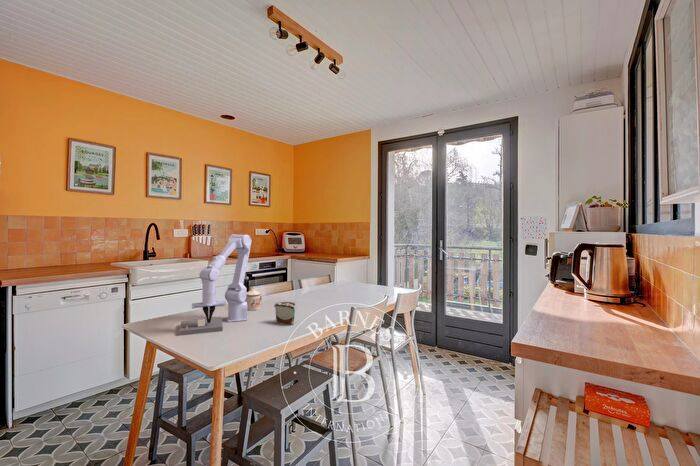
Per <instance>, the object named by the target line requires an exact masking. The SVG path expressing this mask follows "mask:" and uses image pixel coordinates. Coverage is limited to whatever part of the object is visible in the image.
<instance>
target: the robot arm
mask: <svg viewBox="0 0 700 466" xmlns="http://www.w3.org/2000/svg"><path fill="white" fill-rule="evenodd" d="M251 246H252V238H251V236H250V235H249V234H237V233H236V234H235V233H233V234H231V235H230V236H229V237H228V239H227V243H226V245H225V246H224V248H223V249H222V251H221V252H220V253H219V254H218V255H215V256H213V259H212V260H211V261H210V263H209V264H207V266H206V267H204V268H202V269H201V271H200V273H199V274H198V275H199V278H200V281H201V283H202V294H201V295H202V301H200V302H195V303H191V309H199V308H200V309H201V308H202V310H203V313H204V315H205V319H207V323H211V318H213V315H214V312H215V310H216V307H226V305H228V306H227V314H228V315H227V316H226V320H227V323H231V322H233V323H234V322H242V321H248V310H247V302H245V299H246V296H247V294H246V292H247V289H248V288H247V287H246V286H245V285H244V284H245V283H244V282H245V276H246V273H247V272H246V271H247V267H248V262H249V257H250V253H251ZM233 251H236V252H237V253H238V255H237V259H236V264H235V269H234V273H233V278H232V283H230V284H228V285H227V289H226V290H225V292H224V298H225V301H224V300H223V301H222V300H221V301H218V300H217V299H216V298H217V297H216V296H217V295H216V293H217V292H216V288H217V280H218V279H219V277H220V272H221V270H222V269H223V267H224V266H225V264H226V263H227V258H228V257H229V256H230V255H231V253H232V252H233ZM216 300H217V301H216ZM226 303H227V304H226Z"/></svg>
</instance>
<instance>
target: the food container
mask: <svg viewBox="0 0 700 466" xmlns="http://www.w3.org/2000/svg"><path fill="white" fill-rule="evenodd" d="M273 307H274V309H275V322H276V324H280V323H282V325H286V324H288V325H287V326H291V325H292V326H293V325H294V323H295V313H296V310H297V304H296V302H292V301H279V302H278V301H277V302H274V306H273Z"/></svg>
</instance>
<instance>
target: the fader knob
mask: <svg viewBox="0 0 700 466" xmlns="http://www.w3.org/2000/svg"><path fill="white" fill-rule="evenodd" d="M197 319H198V327H200V326H205V319H206V316H202V315H201V316H200V317H197Z"/></svg>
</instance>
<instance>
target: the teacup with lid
mask: <svg viewBox="0 0 700 466" xmlns="http://www.w3.org/2000/svg"><path fill="white" fill-rule="evenodd" d="M246 294H247V296H246V299H245V301H244V302H247V311H257V310H260V308H261V302H262V301H263V300H262V299H263V295H262V294H261V292H260V291H257V290H256V289H255V288H250V290H249V291H246Z"/></svg>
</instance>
